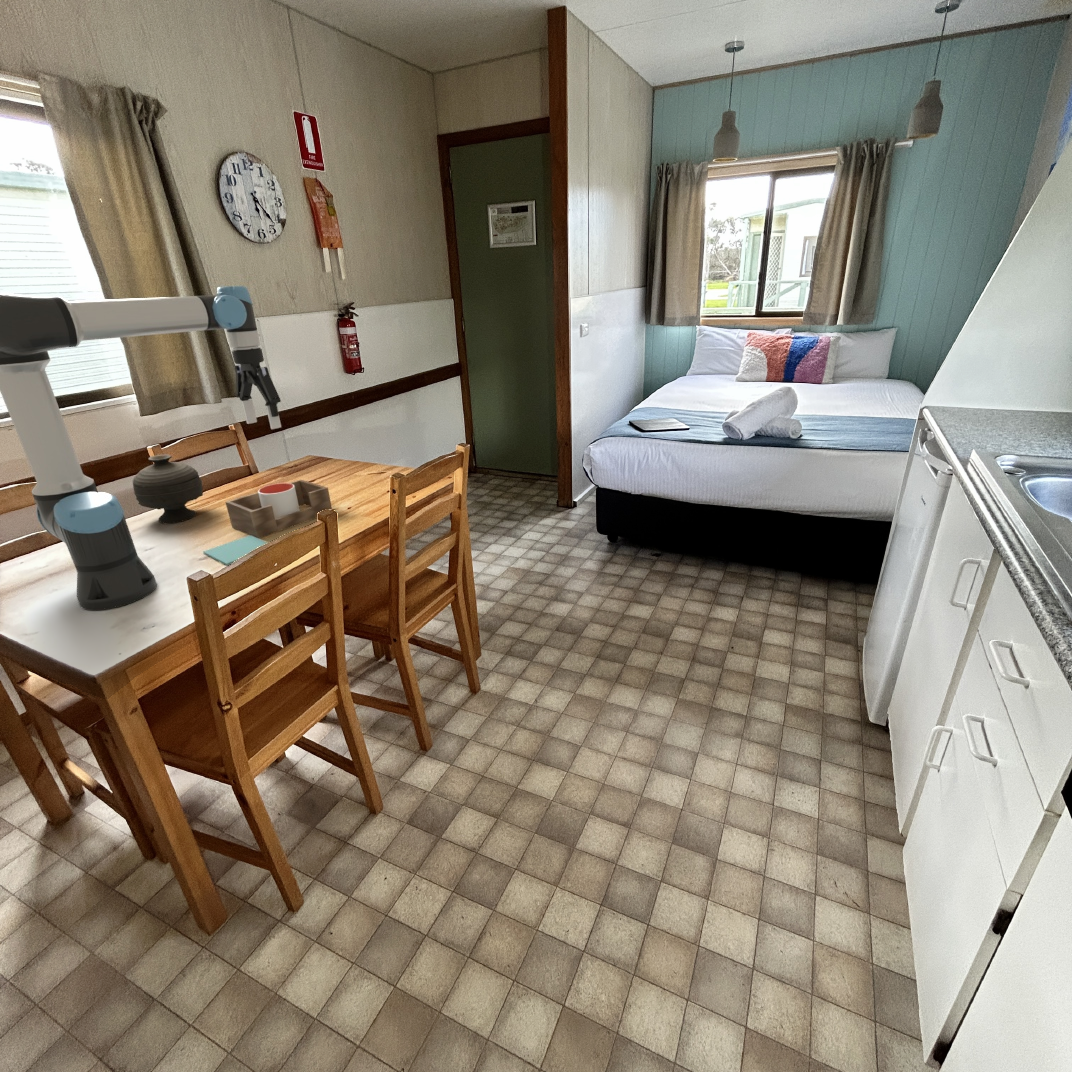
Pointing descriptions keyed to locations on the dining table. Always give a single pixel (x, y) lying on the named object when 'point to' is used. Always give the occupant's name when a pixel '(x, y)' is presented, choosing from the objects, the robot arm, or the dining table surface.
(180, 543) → the dining table surface
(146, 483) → the pot
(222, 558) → the mat
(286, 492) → the cup
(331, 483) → the dining table surface
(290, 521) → the crate
